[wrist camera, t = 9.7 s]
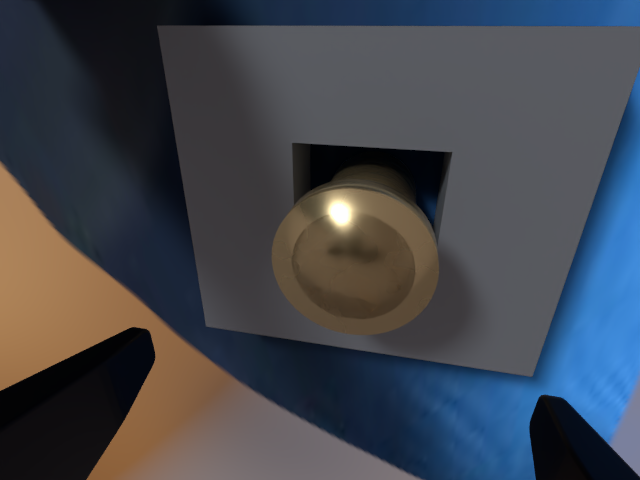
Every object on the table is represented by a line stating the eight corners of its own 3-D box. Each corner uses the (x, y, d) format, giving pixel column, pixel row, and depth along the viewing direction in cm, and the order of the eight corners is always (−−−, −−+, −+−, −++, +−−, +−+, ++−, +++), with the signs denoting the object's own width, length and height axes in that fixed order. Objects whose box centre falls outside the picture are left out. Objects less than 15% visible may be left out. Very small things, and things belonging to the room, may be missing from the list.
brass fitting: (317, 237, 21) (275, 323, 15) (317, 132, 18) (267, 182, 12) (424, 248, 20) (427, 345, 14) (439, 138, 17) (451, 197, 11)
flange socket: (229, 293, 24) (206, 326, 21) (196, 26, 17) (157, 25, 15) (517, 333, 21) (532, 377, 18) (610, 27, 14) (653, 26, 12)
